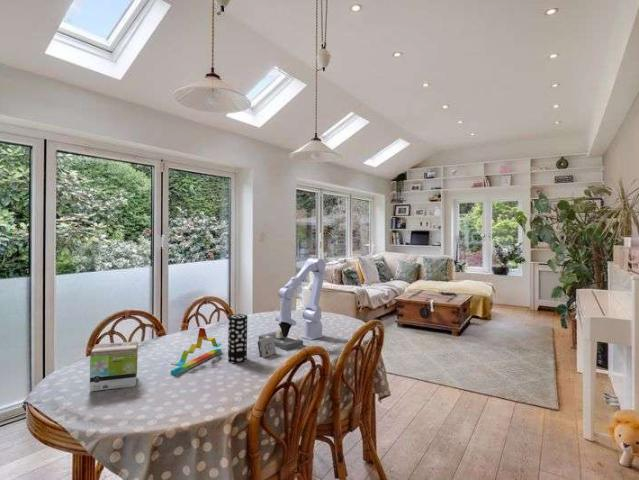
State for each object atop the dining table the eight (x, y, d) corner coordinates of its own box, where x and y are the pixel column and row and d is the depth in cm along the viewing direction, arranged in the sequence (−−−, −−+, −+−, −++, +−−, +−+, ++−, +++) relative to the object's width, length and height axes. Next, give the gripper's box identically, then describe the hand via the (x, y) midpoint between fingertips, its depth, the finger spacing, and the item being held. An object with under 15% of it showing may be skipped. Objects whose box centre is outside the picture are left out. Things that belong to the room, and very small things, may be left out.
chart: (177, 376, 148) (177, 339, 148) (170, 375, 149) (171, 338, 149) (221, 353, 177) (222, 322, 176) (216, 352, 178) (216, 321, 177)
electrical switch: (263, 358, 170) (262, 340, 170) (256, 357, 173) (255, 339, 173) (276, 353, 177) (275, 336, 177) (269, 352, 180) (268, 335, 180)
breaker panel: (276, 336, 206) (276, 331, 206) (303, 345, 190) (303, 340, 190) (258, 340, 197) (258, 335, 197) (285, 350, 182) (285, 345, 182)
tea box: (89, 393, 131) (89, 352, 131) (93, 382, 140) (93, 343, 140) (136, 386, 137) (136, 347, 137) (137, 376, 146) (138, 339, 146)
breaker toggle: (281, 335, 196) (281, 328, 196) (285, 336, 194) (285, 329, 194) (275, 337, 193) (275, 330, 193) (279, 338, 191) (279, 331, 191)
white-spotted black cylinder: (250, 358, 169) (250, 315, 169) (240, 364, 162) (241, 319, 161) (234, 356, 172) (235, 313, 172) (224, 362, 164) (224, 317, 164)
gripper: (270, 309, 193) (270, 335, 193) (289, 314, 183) (288, 341, 183) (281, 307, 198) (280, 332, 198) (299, 312, 188) (299, 338, 188)
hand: (285, 336), depth 191 cm, fingers closed
